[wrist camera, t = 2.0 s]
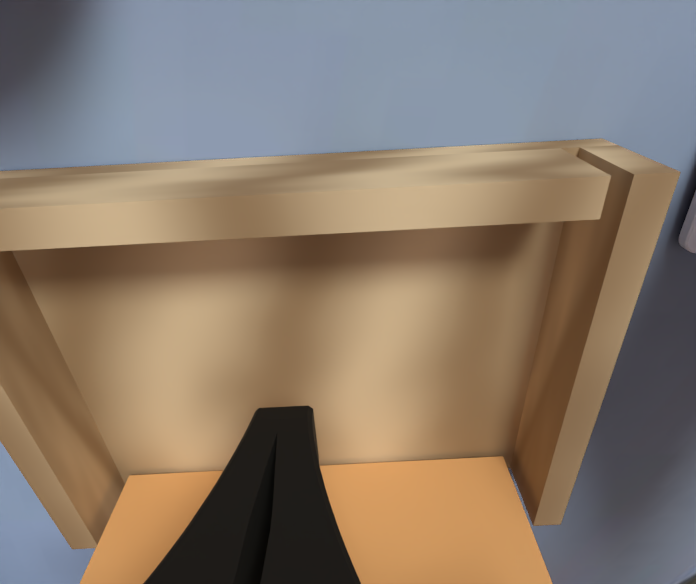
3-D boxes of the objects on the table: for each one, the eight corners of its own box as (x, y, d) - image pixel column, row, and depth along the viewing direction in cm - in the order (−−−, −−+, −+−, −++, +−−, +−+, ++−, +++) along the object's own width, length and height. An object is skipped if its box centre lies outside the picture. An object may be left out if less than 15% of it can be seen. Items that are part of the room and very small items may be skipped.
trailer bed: (602, 138, 12) (680, 172, 10) (527, 450, 19) (560, 524, 16) (-39, 173, 12) (-148, 216, 10) (110, 472, 19) (72, 549, 16)
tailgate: (503, 456, 18) (556, 593, 13) (497, 481, 19) (546, 618, 14) (129, 475, 18) (63, 618, 14) (140, 499, 19) (82, 641, 14)
